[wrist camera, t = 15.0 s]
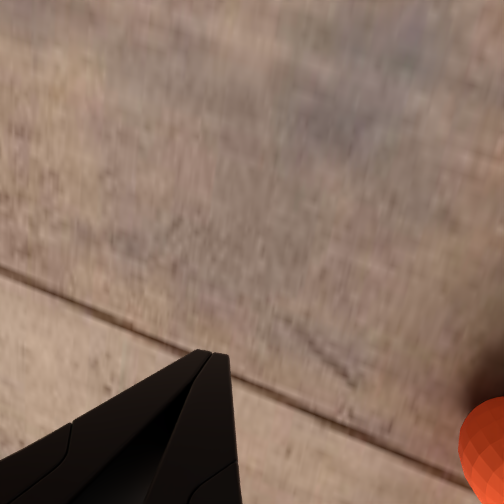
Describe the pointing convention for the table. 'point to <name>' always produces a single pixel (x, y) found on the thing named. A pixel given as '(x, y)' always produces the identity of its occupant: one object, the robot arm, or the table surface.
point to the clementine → (484, 450)
